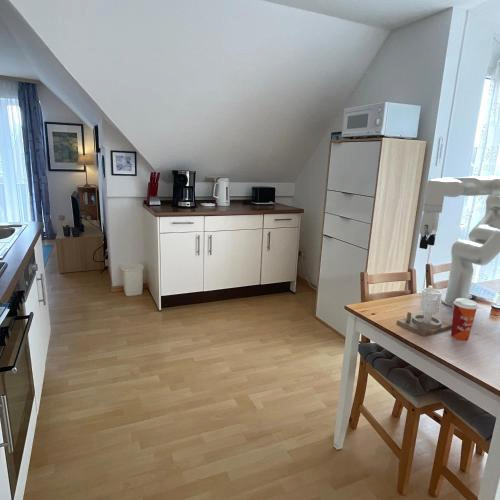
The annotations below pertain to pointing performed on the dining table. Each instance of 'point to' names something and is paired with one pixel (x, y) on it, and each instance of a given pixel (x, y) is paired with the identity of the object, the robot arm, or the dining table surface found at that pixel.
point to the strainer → (430, 303)
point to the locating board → (424, 324)
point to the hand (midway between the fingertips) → (426, 246)
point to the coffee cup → (463, 318)
